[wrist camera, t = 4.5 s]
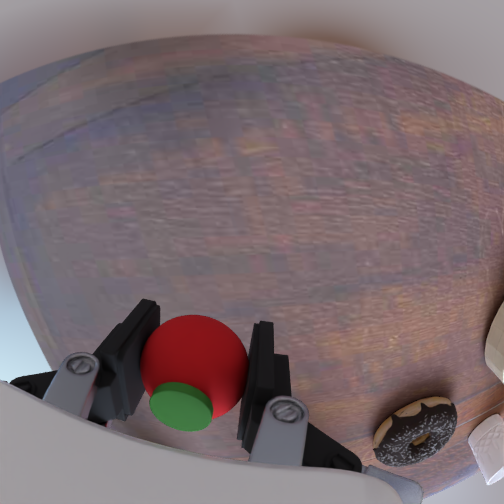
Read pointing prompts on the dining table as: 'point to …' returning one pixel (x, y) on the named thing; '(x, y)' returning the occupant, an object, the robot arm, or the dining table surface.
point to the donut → (415, 432)
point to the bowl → (496, 345)
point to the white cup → (489, 448)
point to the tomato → (193, 371)
